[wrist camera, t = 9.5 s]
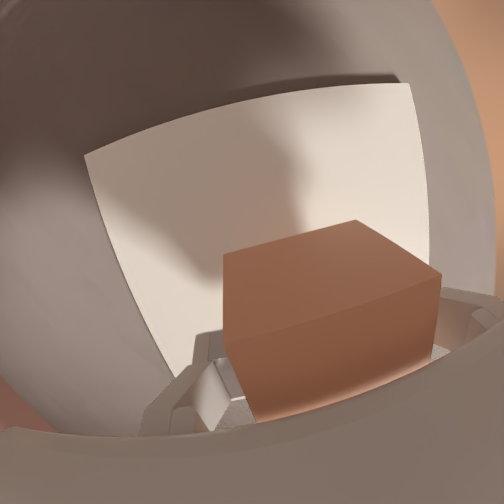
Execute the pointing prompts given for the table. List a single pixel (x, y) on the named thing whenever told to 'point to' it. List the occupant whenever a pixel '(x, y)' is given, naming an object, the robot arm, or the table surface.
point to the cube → (325, 317)
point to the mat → (254, 193)
